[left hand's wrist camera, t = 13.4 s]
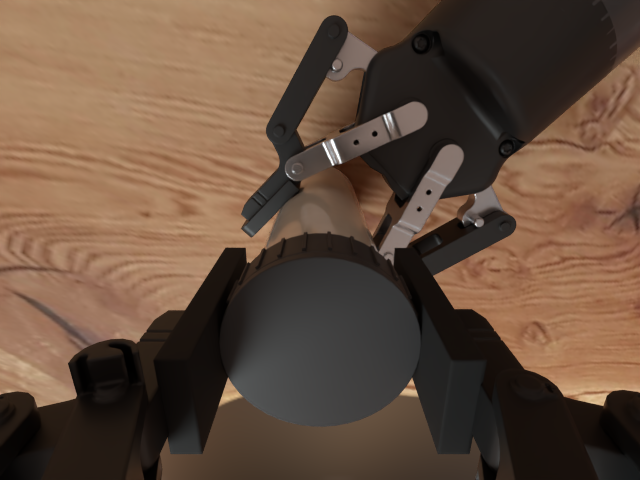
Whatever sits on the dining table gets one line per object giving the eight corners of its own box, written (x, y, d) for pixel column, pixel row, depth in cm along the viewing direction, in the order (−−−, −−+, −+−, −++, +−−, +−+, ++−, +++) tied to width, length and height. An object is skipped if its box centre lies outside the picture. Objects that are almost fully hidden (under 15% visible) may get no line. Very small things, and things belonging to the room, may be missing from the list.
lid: (382, 397, 13) (391, 442, 12) (220, 369, 13) (204, 412, 11) (433, 251, 11) (453, 278, 10) (243, 212, 11) (229, 233, 9)
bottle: (312, 245, 27) (303, 428, 12) (270, 192, 26) (200, 322, 11) (368, 207, 26) (435, 354, 11) (328, 150, 25) (341, 226, 10)
